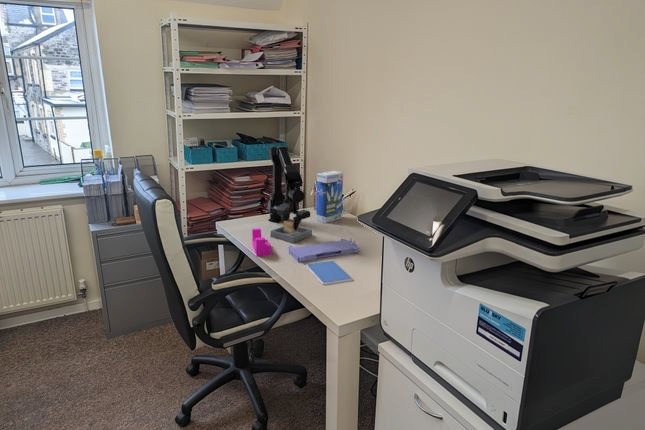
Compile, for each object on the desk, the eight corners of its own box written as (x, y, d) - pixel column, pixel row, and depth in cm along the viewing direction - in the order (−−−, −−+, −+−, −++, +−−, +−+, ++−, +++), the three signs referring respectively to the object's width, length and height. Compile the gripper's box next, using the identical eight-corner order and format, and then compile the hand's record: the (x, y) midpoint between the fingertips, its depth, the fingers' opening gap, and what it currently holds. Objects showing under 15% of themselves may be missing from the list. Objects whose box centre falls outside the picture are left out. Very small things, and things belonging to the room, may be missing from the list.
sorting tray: (289, 229, 216) (289, 223, 216) (311, 235, 209) (311, 229, 208) (270, 236, 206) (270, 230, 205) (293, 243, 198) (293, 237, 197)
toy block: (271, 255, 184) (271, 239, 181) (256, 256, 182) (256, 240, 180) (266, 243, 197) (265, 227, 195) (252, 244, 196) (252, 228, 194)
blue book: (305, 266, 175) (305, 263, 174) (333, 262, 179) (333, 259, 179) (322, 286, 157) (322, 283, 157) (353, 282, 162) (353, 278, 162)
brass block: (290, 228, 210) (290, 218, 208) (298, 230, 207) (298, 220, 205) (283, 231, 206) (283, 221, 204) (291, 233, 203) (291, 223, 202)
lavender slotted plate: (363, 254, 188) (346, 243, 201) (364, 245, 187) (347, 234, 200) (300, 265, 176) (286, 252, 188) (300, 255, 174) (286, 243, 187)
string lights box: (325, 223, 228) (326, 175, 220) (315, 220, 233) (316, 173, 225) (341, 218, 237) (343, 172, 229) (331, 215, 242) (333, 170, 234)
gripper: (264, 197, 200) (265, 228, 205) (296, 204, 190) (295, 237, 195) (280, 192, 209) (280, 223, 214) (311, 199, 199) (310, 231, 203)
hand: (291, 228), depth 206 cm, fingers closed on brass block, 5 cm apart
